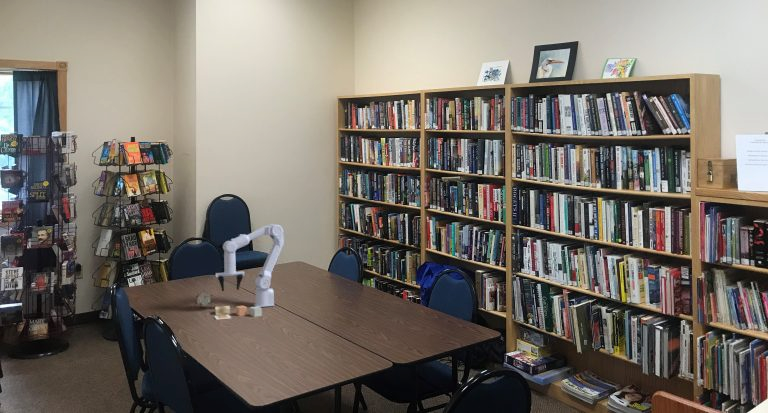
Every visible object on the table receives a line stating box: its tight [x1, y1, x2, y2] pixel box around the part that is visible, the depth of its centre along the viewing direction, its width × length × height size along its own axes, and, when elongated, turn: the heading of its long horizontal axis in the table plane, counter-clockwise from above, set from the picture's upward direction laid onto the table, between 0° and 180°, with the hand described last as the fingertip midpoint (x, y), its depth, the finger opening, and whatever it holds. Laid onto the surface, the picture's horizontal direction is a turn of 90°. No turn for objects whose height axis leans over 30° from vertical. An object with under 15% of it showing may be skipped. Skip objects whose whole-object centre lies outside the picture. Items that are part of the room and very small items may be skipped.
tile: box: [213, 314, 232, 321], centre depth 303 cm, size 7×7×1 cm
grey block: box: [249, 306, 263, 318], centre depth 307 cm, size 4×5×4 cm
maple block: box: [214, 305, 231, 316], centre depth 313 cm, size 7×7×3 cm
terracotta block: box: [235, 305, 248, 317], centre depth 309 cm, size 4×5×4 cm
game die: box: [195, 291, 213, 309], centre depth 323 cm, size 9×8×10 cm
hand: (230, 290), depth 319 cm, fingers open, 7 cm apart
